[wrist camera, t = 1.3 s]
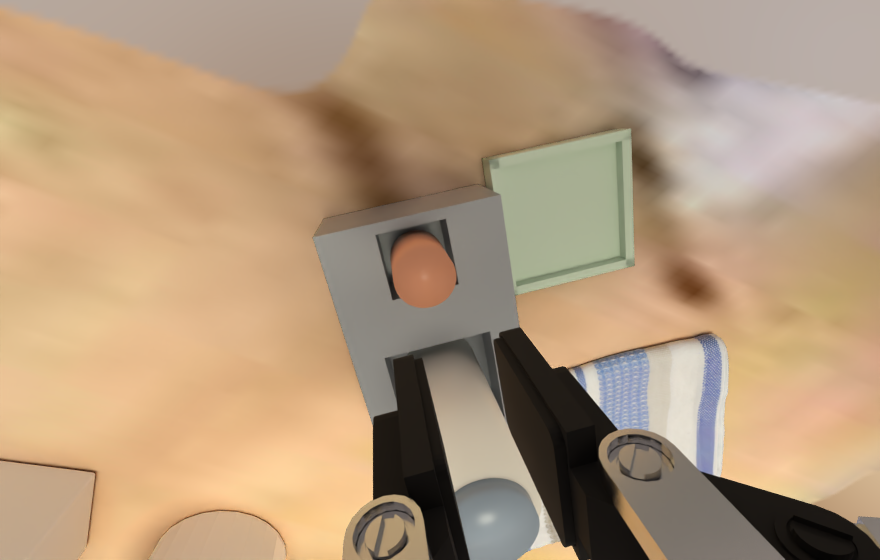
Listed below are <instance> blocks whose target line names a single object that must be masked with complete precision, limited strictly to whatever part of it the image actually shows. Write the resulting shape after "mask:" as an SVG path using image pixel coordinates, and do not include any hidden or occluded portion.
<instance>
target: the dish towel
mask: <svg viewBox="0 0 880 560" xmlns="http://www.w3.org/2000/svg"><path fill="white" fill-rule="evenodd" d="M568 370H569V371H570V372H571V374H572V375H573V376H574V377H575V378H576V380H577V381H578V382H579V383H580V384H581V386H582V387H583V388H584V389H585V390H586V392H587V393H588V394H589V395H590V396H591V398H592V399H593V400H594V401H595V402H596V404H597V405H598V406H599V407H600V408H601V410H602V411H603V412H604V413H605V415H606V416H607V417H608V418H609V419H610V421H611V422H612V423H613V424H614V425H615V427H616V428H617V429H618V430H622V429H629V428H631V429H643V430H647V431H650V432H654V433H656V434H658V435H660V436H662V437H664V438H666V439H667V440H669V441H670V442H671V443H672V444H674V445H675V446H676V447H677V448H678V449H679V450H680V451H681V452H682V453H683V454H684V455H685V456H686V457H687V458H688V459H689V460H690V461H691V463H692V464H693V465H694V466H695V467H696V468H697V469H698V470H699V471H701V472H705V473H708V474H711V475H715V476H718V477H720V476H721V471H722V460H723V459H722V458H723V447H724V411H725V400H726V396H727V394H728V372H729V364H728V353H727V349H726V345H725V343H724V342H723V340H722V339H721V338H719V337H718V336H717V335H715V334H705V335H700V336H697V337H694V338H691V339H685V340H678V341H674V342H669V343H665V344H661V345H657V346H653V347H648V348H644V349H636V350H633V351H628V352H624V353H619V354H616V355H612V356H608V357H605V358H601V359H598V360H596V361H592V362H589V363H586V364H584V365H581V366H578V367H575V368H571V369H568ZM541 504H542V507H541V513H540V517H539V521H540V527H539V532H538V535H537V538H536V540H535V541H534V543H533V545H532V546H531V547H530V548H529V550H528V551H530V550H532V549H535V548H540V547H542V546H545V545H547V544H552V543H555V542H559V541H560V539H559V536H558V534H557V532H556V530H555V528H554V526H553V523H552V521H551V519H550V517H549V515H548V513H547V510H546V508H545V506H544V504H543V502H542V500H541Z"/></svg>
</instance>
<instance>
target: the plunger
mask: <svg viewBox="0 0 880 560" xmlns="http://www.w3.org/2000/svg"><path fill="white" fill-rule="evenodd" d="M390 261H391V268H392V275H393V282H394V287H395V290H396V292H397V294H398V295H399V297H400V298H401V299H402V300H403V301H404V302H406V303H407V304H409V305H411V306H414V307H418V308H429V307H433V306H436V305H439V304H440V303H442V302H443V301H445V300H446V299H447V298H448V297H449V296H450V294H451V293H452V291H453V290H454V287H455V284H456V270H455V267H454V264H453V262H452V261H451V259H450V258H449V256H448V254H447V253H446V251H445V250H444V248H443V246H442V245H441V243H440V242H439V240H438V239H437V238H436V237H435V236H434V235H432V234H431V233H429V232H426V231H422V230H413V231H409V232H406V233H404V234H402V235H401V236H400V237H399V238H398V239H397V240H396V241H395V242H394V244H393V246H392V248H391V252H390Z"/></svg>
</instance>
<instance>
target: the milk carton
mask: <svg viewBox="0 0 880 560" xmlns="http://www.w3.org/2000/svg"><path fill="white" fill-rule="evenodd" d="M94 481H95V473H92V472H86V471H78V470H70V469H62V468H54V467H46V466H38V465H30V464H22V463H14V462H6V461H0V560H78V559H79V557H80V556H81V554H82V553H83V551H84V550H85V548H86V546H87V538H88V530H89V522H90V514H91V506H92V497H93V489H94Z"/></svg>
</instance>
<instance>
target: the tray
mask: <svg viewBox="0 0 880 560" xmlns="http://www.w3.org/2000/svg"><path fill="white" fill-rule="evenodd" d="M482 163H483V170H484V176H485V183H486V188H488V189H490V190H492V191H494V192H496V193H498V194H500V195H501V200H502V207H503V214H504V221H505V228H506V235H507V243H508V250H509V257H510V264H511V271H512V278H513V285H514V292H515V295H519V294H523V293H527V292H531V291H535V290H539V289H543V288H547V287H551V286H555V285H559V284H563V283H567V282H571V281H575V280H579V279H583V278H587V277H591V276H595V275H599V274H603V273H607V272H611V271H615V270H619V269H623V268H628V267H632V266H635V264H634V225H633V185H632V146H631V129H613V130H609V131H604V132H599V133H595V134H590V135H586V136H581V137H577V138H572V139H568V140H563V141H559V142H554V143H550V144H545V145H541V146H536V147H531V148H527V149H522V150H518V151H513V152H509V153H504V154H500V155H495V156H491V157H486V158H482Z"/></svg>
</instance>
